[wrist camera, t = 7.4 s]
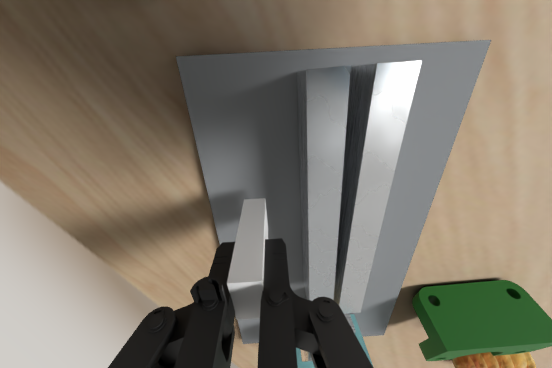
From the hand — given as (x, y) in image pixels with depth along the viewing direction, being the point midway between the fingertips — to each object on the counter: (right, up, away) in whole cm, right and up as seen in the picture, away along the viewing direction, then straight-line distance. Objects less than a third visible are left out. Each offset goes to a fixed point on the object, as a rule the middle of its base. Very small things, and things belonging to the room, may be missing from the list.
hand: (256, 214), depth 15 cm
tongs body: (+6, -4, +5) cm, 9 cm away
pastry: (+33, -23, +16) cm, 43 cm away
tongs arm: (+4, +1, +2) cm, 5 cm away
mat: (+6, -4, +5) cm, 8 cm away
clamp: (+23, -12, +10) cm, 28 cm away
